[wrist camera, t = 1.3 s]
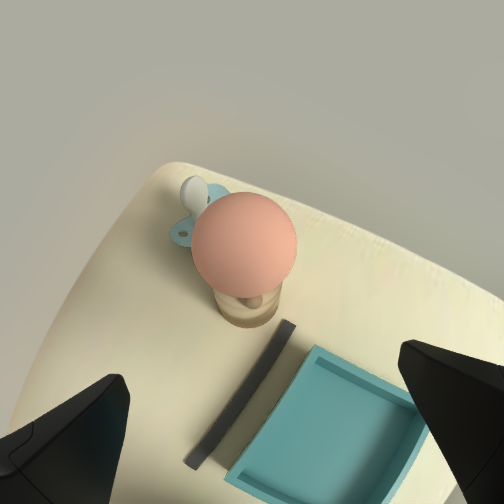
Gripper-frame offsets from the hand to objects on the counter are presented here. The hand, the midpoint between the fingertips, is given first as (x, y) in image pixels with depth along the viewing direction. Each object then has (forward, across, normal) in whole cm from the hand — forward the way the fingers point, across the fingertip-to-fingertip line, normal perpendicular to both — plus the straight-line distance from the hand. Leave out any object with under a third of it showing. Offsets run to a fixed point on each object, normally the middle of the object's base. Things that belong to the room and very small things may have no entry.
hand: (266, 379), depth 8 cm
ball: (+9, 0, -2) cm, 10 cm away
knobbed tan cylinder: (+15, 0, +4) cm, 16 cm away
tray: (+6, -5, +13) cm, 15 cm away
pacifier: (+21, +3, -1) cm, 21 cm away
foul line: (+10, +1, +9) cm, 13 cm away
